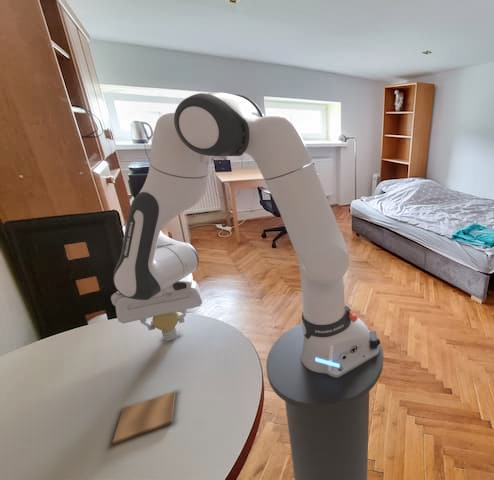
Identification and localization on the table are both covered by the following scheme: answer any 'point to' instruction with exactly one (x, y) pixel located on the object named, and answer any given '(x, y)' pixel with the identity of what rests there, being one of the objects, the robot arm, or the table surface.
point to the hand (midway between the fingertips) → (167, 325)
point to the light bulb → (167, 325)
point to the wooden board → (145, 417)
